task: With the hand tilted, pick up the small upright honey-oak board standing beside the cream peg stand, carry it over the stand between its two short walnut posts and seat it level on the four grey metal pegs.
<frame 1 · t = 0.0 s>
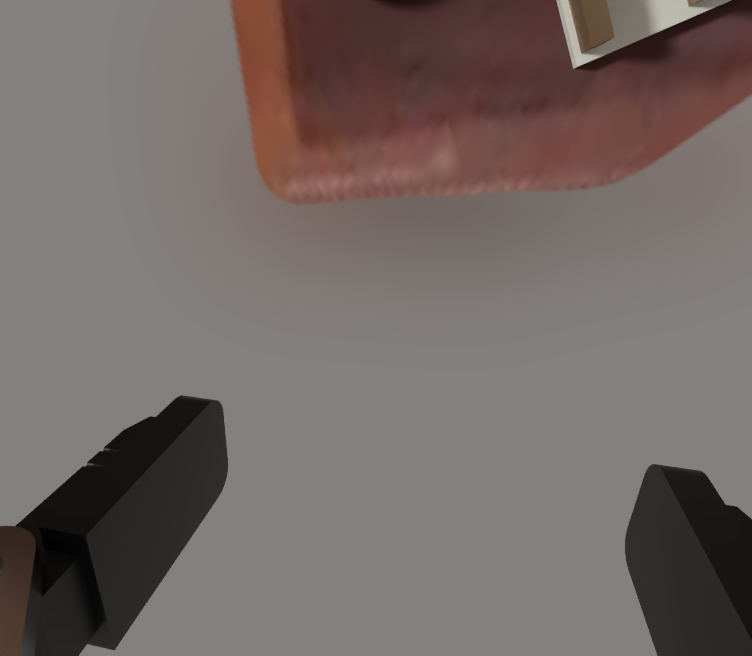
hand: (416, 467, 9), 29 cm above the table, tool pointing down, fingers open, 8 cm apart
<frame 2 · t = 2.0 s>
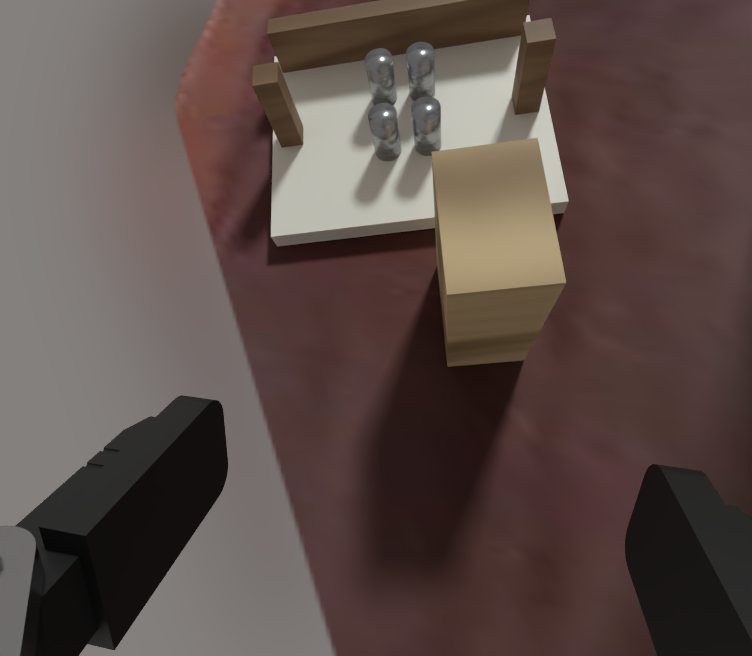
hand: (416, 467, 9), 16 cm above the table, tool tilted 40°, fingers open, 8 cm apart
walnut frame: (398, 50, 29), on the peg stand, point 4 cm above the table
peg stand: (407, 134, 32), on the table
oak board: (478, 311, 27), on the table
pegs: (403, 102, 29), in the walnut frame, point 3 cm above the table
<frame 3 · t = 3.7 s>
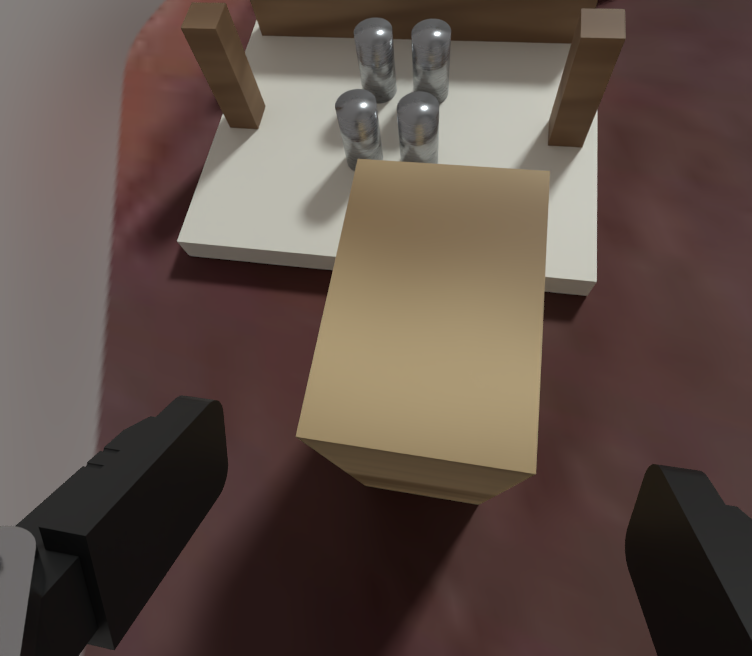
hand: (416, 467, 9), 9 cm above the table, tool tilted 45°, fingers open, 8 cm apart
walnut frame: (405, 26, 21), on the peg stand, point 4 cm above the table
peg stand: (400, 144, 23), on the table
oak board: (431, 411, 18), on the table
pegs: (396, 98, 21), in the walnut frame, point 3 cm above the table
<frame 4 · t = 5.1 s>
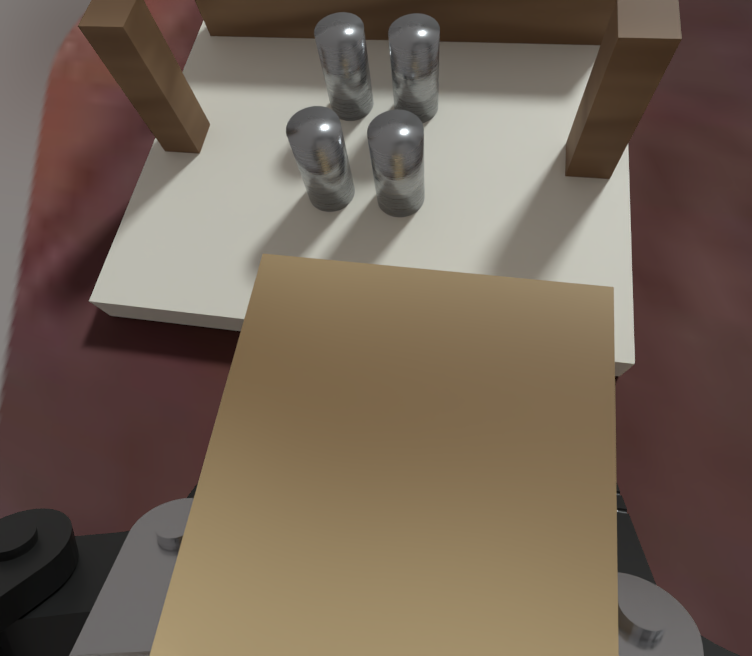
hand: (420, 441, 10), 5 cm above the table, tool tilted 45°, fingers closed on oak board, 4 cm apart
walnut frame: (382, 24, 16), on the peg stand, point 4 cm above the table
peg stand: (378, 171, 19), on the table
oak board: (415, 538, 14), on the table, touching gripper
pegs: (370, 115, 16), in the walnut frame, point 3 cm above the table
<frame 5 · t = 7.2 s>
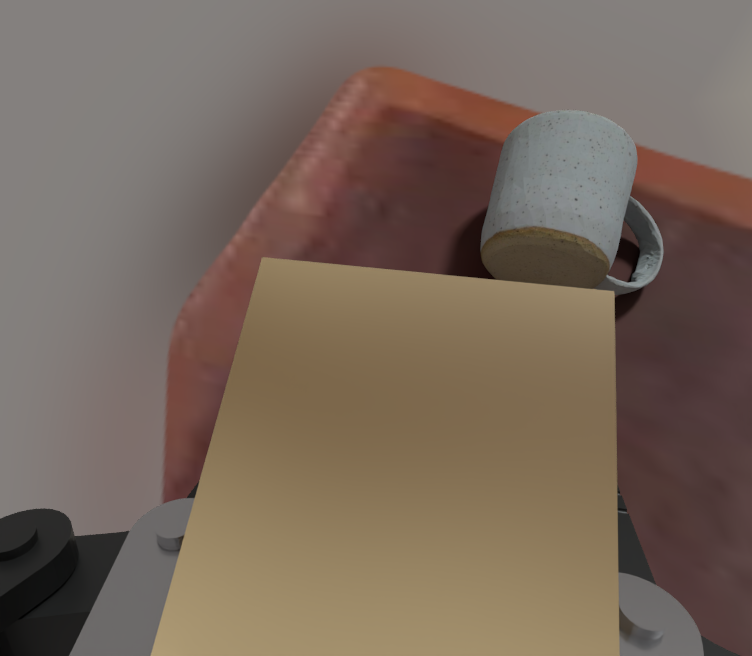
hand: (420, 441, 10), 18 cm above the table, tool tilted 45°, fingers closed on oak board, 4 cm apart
ceramic mug: (561, 248, 32), on the table
oak board: (415, 540, 14), point 13 cm above the table, touching gripper
when the fingers open (10 cm above the table, at t = 9.4 s): oak board stays where it is, resting on pegs.
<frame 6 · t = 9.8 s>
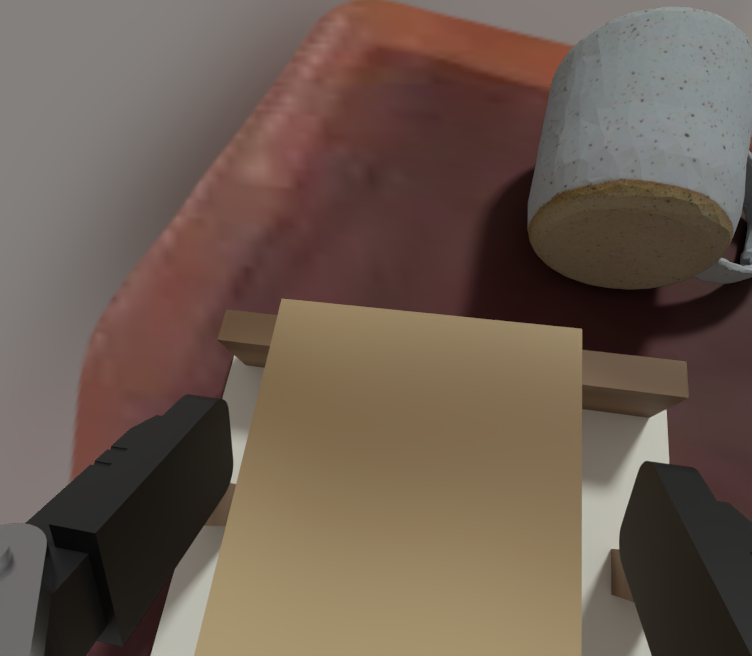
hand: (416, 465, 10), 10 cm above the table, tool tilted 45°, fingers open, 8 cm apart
ceramic mug: (632, 222, 23), on the table
walnut frame: (427, 441, 16), on the peg stand, point 4 cm above the table
peg stand: (418, 536, 19), on the table
oak board: (415, 541, 15), point 4 cm above the table, touching pegs
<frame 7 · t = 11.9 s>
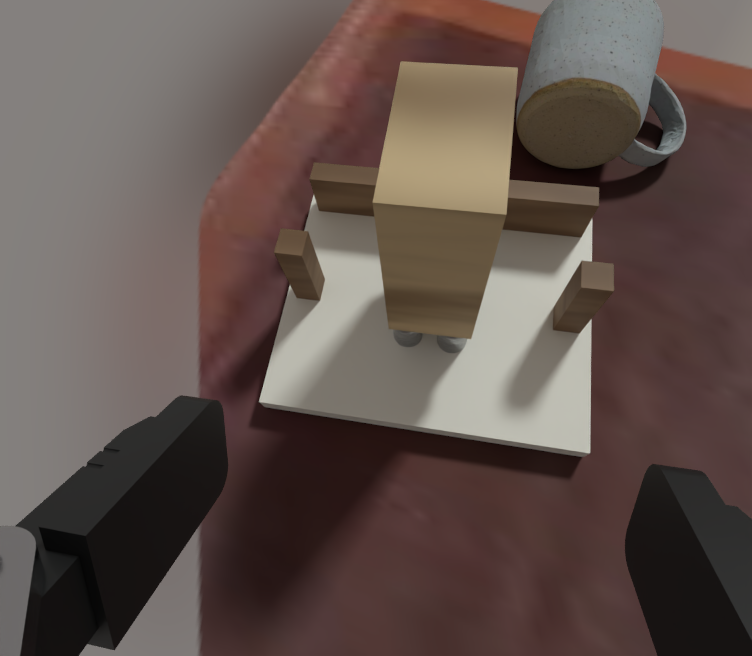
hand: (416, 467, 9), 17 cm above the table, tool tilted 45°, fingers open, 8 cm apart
ceramic mug: (588, 132, 34), on the table
walnut frame: (442, 234, 27), on the peg stand, point 4 cm above the table
peg stand: (433, 312, 29), on the table
oak board: (436, 279, 25), point 4 cm above the table, touching pegs
pegs: (435, 291, 27), in the walnut frame, point 3 cm above the table
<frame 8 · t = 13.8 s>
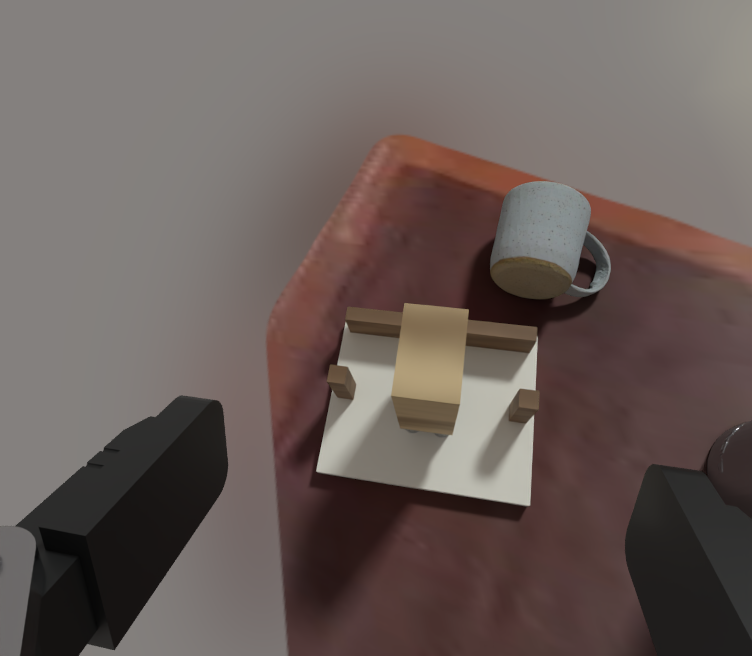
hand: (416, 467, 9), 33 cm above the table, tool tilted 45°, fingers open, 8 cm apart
ceramic mug: (544, 266, 47), on the table
walnut frame: (434, 359, 41), on the peg stand, point 4 cm above the table
peg stand: (430, 405, 43), on the table
oak board: (430, 393, 39), point 4 cm above the table, touching pegs
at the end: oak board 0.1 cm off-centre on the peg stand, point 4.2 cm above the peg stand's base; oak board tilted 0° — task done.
